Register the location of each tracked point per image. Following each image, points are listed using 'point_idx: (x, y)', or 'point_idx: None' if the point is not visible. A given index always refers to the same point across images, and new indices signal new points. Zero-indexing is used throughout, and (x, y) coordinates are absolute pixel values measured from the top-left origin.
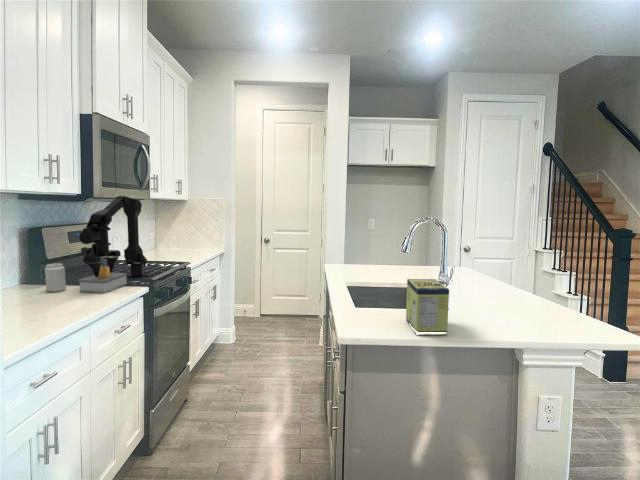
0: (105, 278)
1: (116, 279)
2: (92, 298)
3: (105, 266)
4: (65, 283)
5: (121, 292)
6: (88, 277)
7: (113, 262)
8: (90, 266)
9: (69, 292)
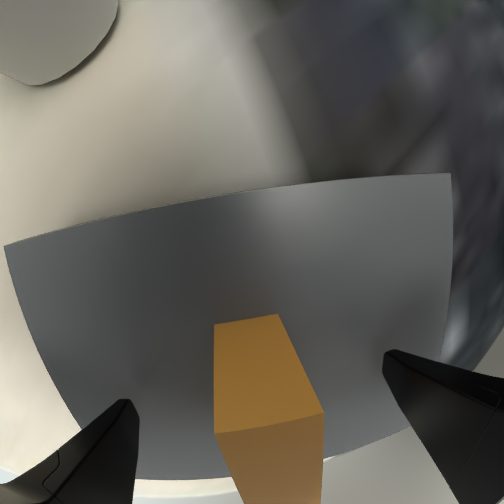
0: (189, 447)
1: None
2: (48, 410)
3: (320, 485)
4: (71, 40)
5: None
6: (124, 250)
7: (451, 477)
8: (12, 484)
9: (40, 163)
